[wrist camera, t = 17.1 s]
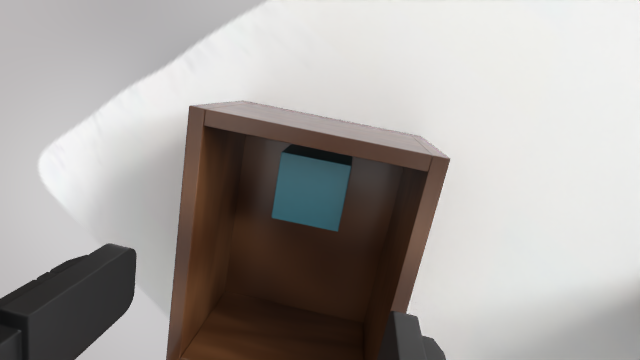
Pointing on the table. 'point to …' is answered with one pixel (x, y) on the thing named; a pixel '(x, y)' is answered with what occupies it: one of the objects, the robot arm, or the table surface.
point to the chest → (294, 238)
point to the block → (311, 187)
